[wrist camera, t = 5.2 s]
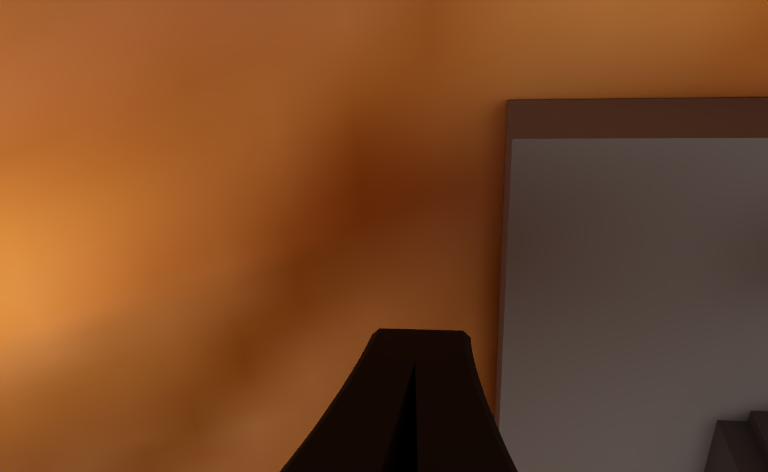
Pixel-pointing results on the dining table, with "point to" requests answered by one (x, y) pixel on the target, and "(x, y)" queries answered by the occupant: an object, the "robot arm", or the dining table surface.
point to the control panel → (634, 286)
